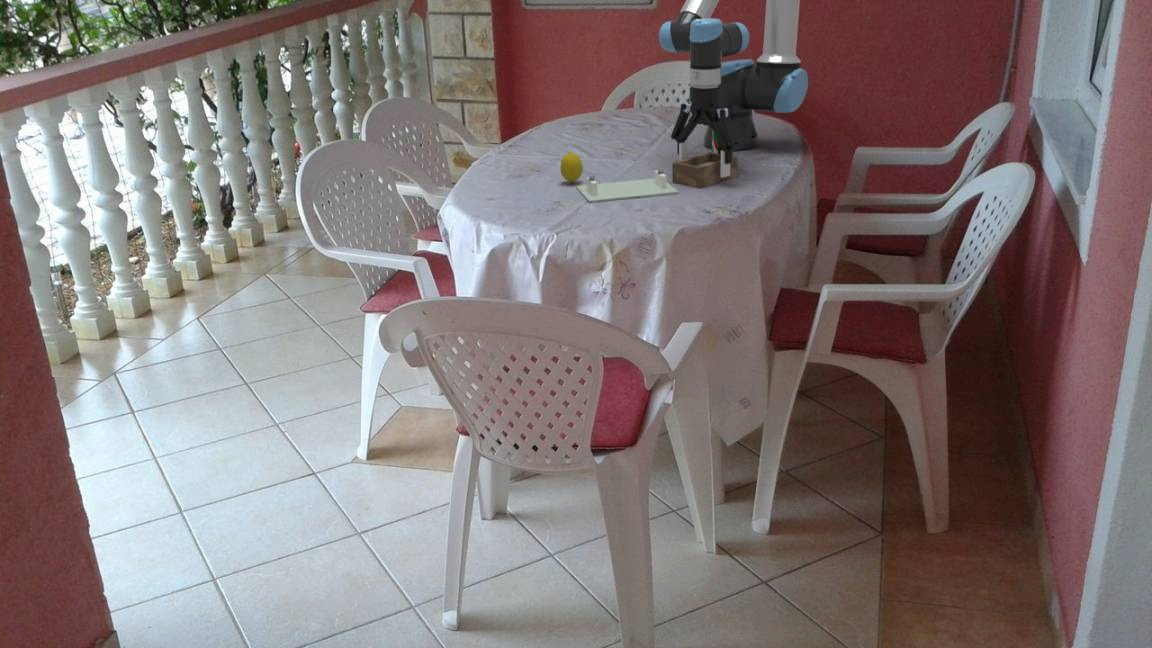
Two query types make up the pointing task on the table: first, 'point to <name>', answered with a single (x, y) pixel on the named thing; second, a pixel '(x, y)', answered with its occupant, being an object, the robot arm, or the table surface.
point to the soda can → (716, 144)
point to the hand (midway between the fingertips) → (704, 172)
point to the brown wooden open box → (701, 170)
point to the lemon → (571, 167)
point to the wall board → (627, 188)
